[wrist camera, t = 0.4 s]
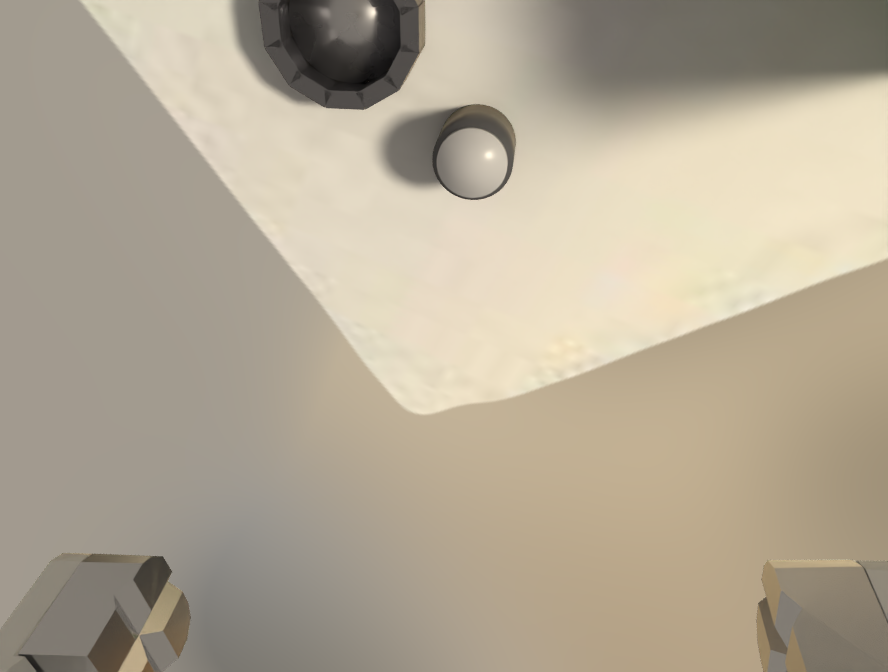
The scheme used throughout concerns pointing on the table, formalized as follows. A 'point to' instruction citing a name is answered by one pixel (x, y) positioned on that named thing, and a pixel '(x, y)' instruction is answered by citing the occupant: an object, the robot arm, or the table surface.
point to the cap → (474, 152)
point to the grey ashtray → (344, 47)
